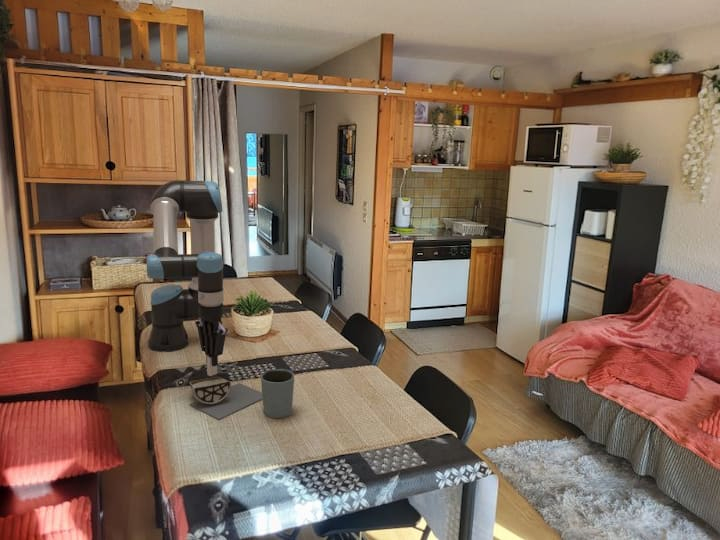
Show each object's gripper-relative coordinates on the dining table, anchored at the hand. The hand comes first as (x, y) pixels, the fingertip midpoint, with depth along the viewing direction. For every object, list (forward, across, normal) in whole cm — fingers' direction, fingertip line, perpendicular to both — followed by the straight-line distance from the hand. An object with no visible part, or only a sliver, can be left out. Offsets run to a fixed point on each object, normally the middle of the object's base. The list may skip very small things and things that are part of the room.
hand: (212, 374), depth 171 cm
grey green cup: (+8, +23, +6) cm, 25 cm away
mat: (+7, +7, +1) cm, 10 cm away
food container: (+6, -3, -1) cm, 6 cm away
